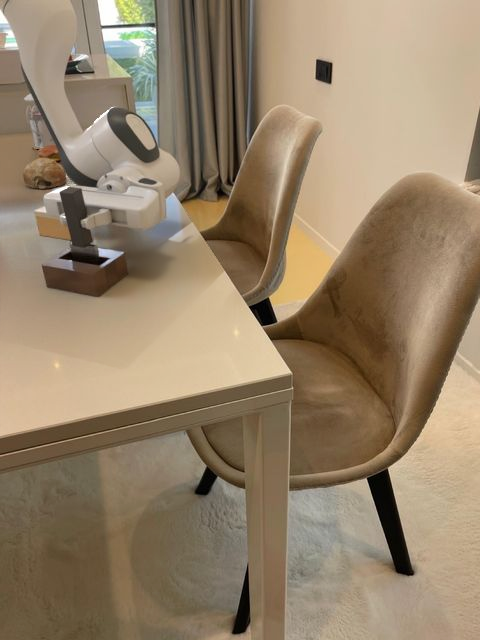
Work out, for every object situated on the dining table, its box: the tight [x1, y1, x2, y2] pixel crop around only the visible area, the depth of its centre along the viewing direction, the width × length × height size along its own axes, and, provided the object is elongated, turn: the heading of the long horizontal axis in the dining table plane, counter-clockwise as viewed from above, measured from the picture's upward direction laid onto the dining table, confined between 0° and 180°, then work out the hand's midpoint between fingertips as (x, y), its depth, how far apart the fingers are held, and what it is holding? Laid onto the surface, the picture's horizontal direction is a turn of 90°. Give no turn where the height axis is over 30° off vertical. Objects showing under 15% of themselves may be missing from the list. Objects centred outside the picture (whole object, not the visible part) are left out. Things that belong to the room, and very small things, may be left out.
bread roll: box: [22, 157, 67, 190], centre depth 138 cm, size 10×10×8 cm
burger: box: [37, 145, 63, 167], centre depth 153 cm, size 10×9×5 cm
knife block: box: [41, 247, 129, 298], centre depth 93 cm, size 10×9×4 cm
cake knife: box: [59, 187, 101, 266], centre depth 90 cm, size 5×2×14 cm, turn 69°
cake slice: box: [33, 205, 71, 241], centre depth 109 cm, size 10×3×5 cm, turn 69°
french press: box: [23, 93, 55, 148], centre depth 163 cm, size 10×12×25 cm
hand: (74, 223), depth 88 cm, fingers closed on cake knife, 2 cm apart
